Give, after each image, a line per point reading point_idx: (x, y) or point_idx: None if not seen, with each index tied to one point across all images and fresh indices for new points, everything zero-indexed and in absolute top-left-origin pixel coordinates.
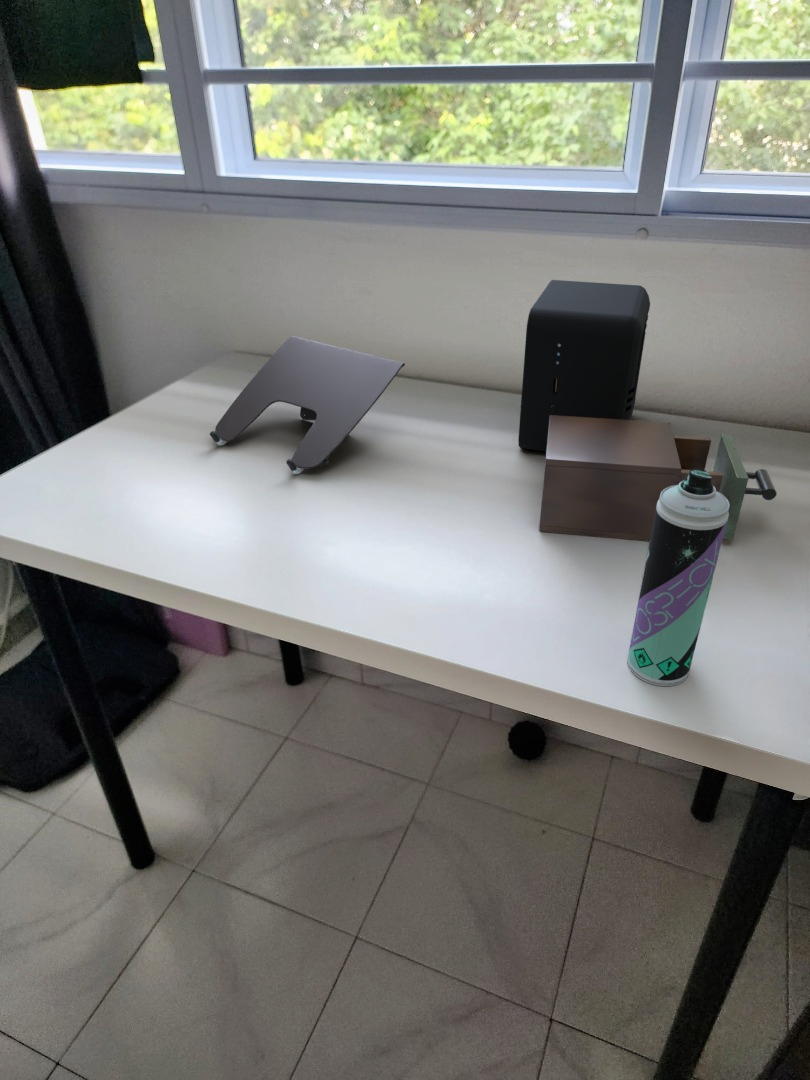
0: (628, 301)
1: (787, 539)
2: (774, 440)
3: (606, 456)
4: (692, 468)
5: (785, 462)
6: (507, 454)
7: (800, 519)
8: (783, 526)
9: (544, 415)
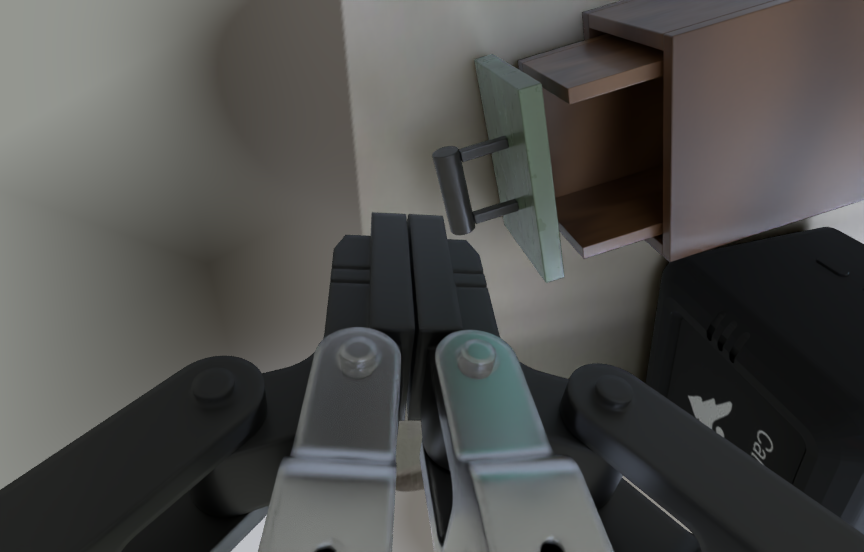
0: None
1: (377, 128)
2: (421, 438)
3: (827, 26)
4: (577, 211)
5: None
6: None
7: (362, 210)
8: (387, 172)
9: (841, 261)
